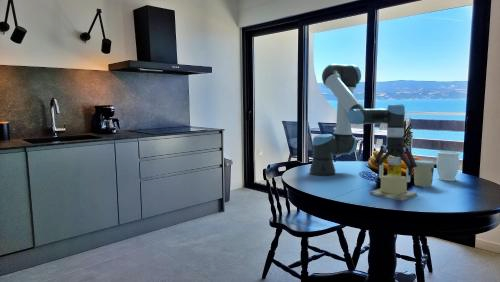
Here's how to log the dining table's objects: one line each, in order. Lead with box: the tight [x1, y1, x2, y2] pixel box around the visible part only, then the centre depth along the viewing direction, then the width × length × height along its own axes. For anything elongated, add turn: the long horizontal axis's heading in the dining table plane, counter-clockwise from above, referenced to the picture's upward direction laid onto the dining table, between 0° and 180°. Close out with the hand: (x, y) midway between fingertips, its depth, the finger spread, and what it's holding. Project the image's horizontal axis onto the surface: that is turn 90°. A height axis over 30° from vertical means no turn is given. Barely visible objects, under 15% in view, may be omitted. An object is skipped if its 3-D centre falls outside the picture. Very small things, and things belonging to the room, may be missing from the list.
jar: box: [435, 150, 460, 182], centre depth 178 cm, size 11×10×15 cm
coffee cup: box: [413, 159, 435, 188], centre depth 167 cm, size 9×9×12 cm
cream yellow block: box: [380, 174, 408, 195], centre depth 149 cm, size 8×8×7 cm
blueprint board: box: [370, 187, 418, 202], centre depth 149 cm, size 15×13×1 cm
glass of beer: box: [386, 156, 403, 176], centre depth 162 cm, size 6×6×15 cm
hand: (394, 179), depth 162 cm, fingers open, 13 cm apart
